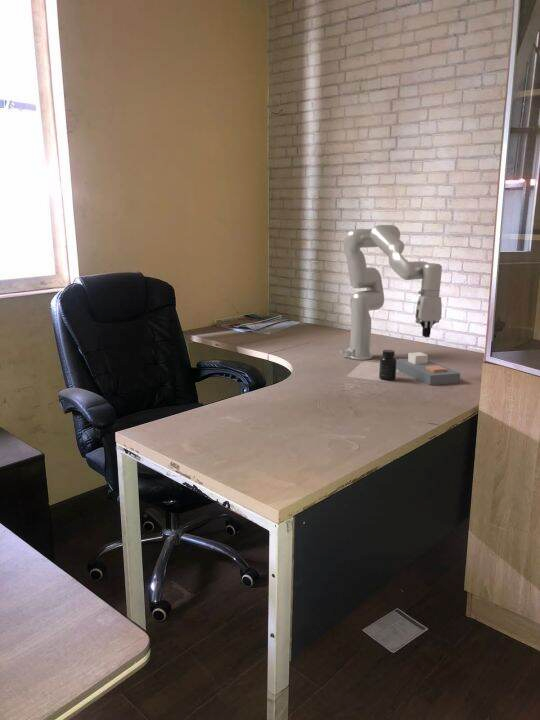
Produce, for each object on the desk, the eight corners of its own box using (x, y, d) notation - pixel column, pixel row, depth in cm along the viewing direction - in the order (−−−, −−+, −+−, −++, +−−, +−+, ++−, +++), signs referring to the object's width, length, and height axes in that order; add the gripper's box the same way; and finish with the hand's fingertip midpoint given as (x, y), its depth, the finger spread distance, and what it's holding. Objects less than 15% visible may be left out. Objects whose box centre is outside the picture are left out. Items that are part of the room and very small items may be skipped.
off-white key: (414, 367, 250) (415, 356, 249) (407, 364, 255) (408, 352, 254) (427, 366, 252) (427, 355, 250) (419, 363, 257) (420, 352, 256)
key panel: (429, 385, 233) (430, 375, 232) (394, 368, 258) (395, 359, 257) (459, 382, 237) (460, 373, 236) (422, 366, 263) (422, 357, 262)
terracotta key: (432, 381, 237) (433, 369, 236) (424, 377, 243) (425, 366, 242) (445, 380, 239) (446, 368, 238) (437, 376, 245) (438, 365, 244)
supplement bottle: (385, 375, 246) (386, 348, 243) (398, 379, 241) (400, 351, 238) (375, 378, 241) (377, 350, 238) (389, 382, 236) (391, 353, 233)
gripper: (419, 295, 235) (414, 339, 240) (450, 294, 239) (446, 337, 244) (409, 292, 242) (405, 335, 247) (440, 291, 246) (436, 334, 251)
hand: (425, 336), depth 245 cm, fingers closed
